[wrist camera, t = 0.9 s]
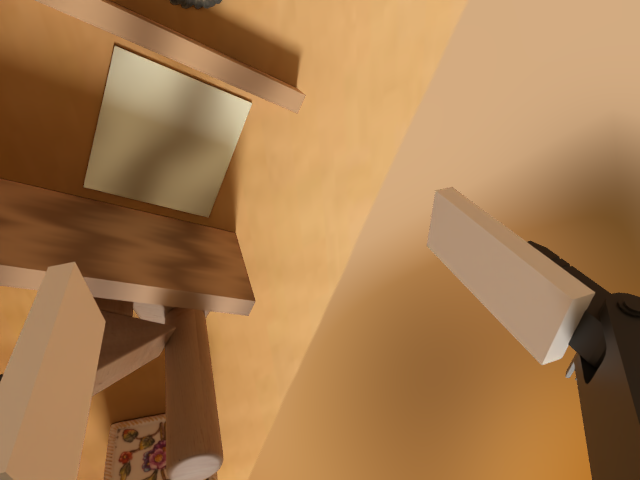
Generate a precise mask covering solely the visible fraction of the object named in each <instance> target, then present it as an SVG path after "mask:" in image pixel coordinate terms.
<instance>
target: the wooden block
mask: <svg viewBox="0 0 640 480" xmlns="http://www.w3.org/2000/svg"><path fill="white" fill-rule="evenodd" d="M93 298H94V300H95V302H96V304H97V306H98V308H99V310H100V312H101V314H102V315H103V317H104V319H105V321H106V322H105V328H104V333H103V339H102V344H101V350H100V355H99V360H98V366H97V371H96V377H95V382H94V388H93V393H92V396H94V395H95V394H97V393H99V392H100V391H102V390H104V389H105V388H107V387H109V386H110V385H112V384H113V383H115V382H117V381H118V380H120V379H122V378H123V377H125V376H127V375H128V374H130V373H132V372H133V371H135V370H137V369H138V368H140V367H142V366H143V365H145V364H147V363H148V362H150V361H151V360H153V359H155V358H156V357H158V356H159V355H160V354H161V352H162V350H163V349H164V347H165V391H166V472H167V476H168V478H169V479H170V480H204V479H206V478H208V477H210V476H212V475H213V474H215V473H216V472H217V471H218V470H219V469H220V467H221V465H222V463H223V450H222V443H221V435H220V427H219V419H218V412H217V404H216V396H215V388H214V381H213V373H212V365H211V357H210V350H209V342H208V334H207V326H206V319H205V318H206V317H207V315H208V314H209V312H210V311H205V310H196V309H188V308H180V307H172V306H163V305H155V304H147V303H139V302H131V301H122V300H114V299H106V298H98V297H93ZM133 309H134V311H135V312H136V314H137V315H138V317H139V318H140V319H138V318H134V317H132V316H133Z"/></svg>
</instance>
